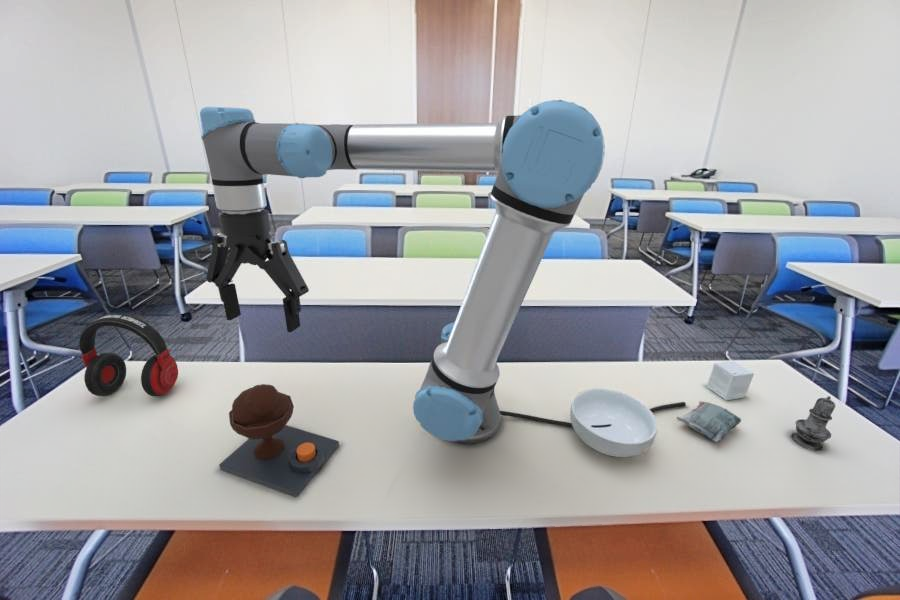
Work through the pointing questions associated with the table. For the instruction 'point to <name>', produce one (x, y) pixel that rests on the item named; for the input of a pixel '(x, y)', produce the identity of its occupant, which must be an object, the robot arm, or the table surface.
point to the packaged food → (710, 420)
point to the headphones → (111, 369)
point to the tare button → (306, 452)
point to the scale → (281, 461)
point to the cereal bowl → (613, 422)
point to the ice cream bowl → (262, 417)
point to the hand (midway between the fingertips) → (263, 323)
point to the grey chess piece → (815, 425)
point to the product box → (730, 380)
